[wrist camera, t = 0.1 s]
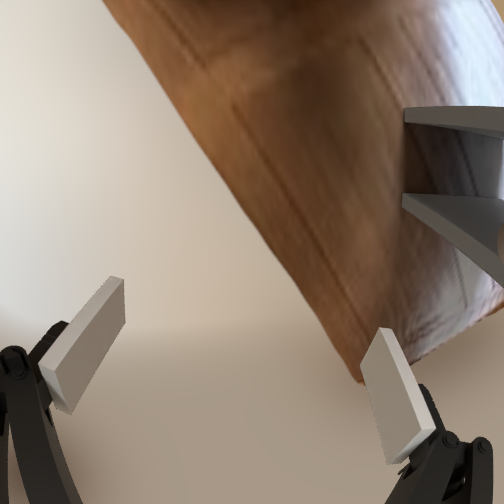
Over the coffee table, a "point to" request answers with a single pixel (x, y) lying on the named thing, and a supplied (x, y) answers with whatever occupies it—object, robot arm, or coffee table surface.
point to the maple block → (501, 243)
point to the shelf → (463, 207)
